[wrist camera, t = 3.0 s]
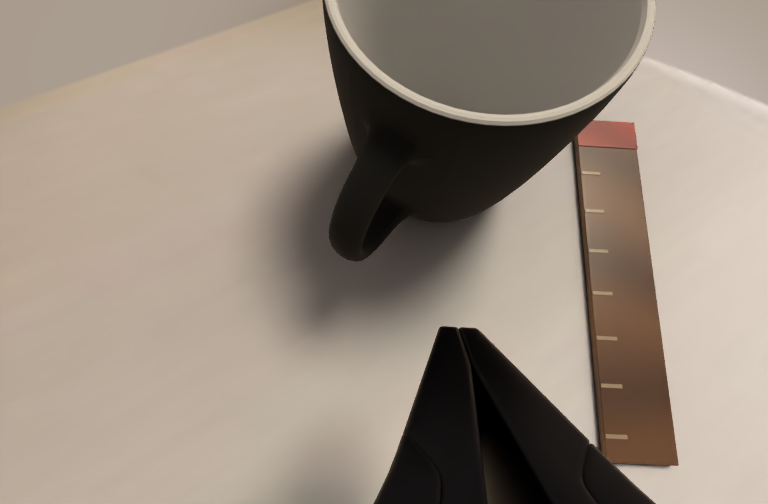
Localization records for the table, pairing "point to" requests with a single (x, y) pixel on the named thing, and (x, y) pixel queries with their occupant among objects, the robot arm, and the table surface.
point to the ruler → (622, 300)
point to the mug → (466, 99)
